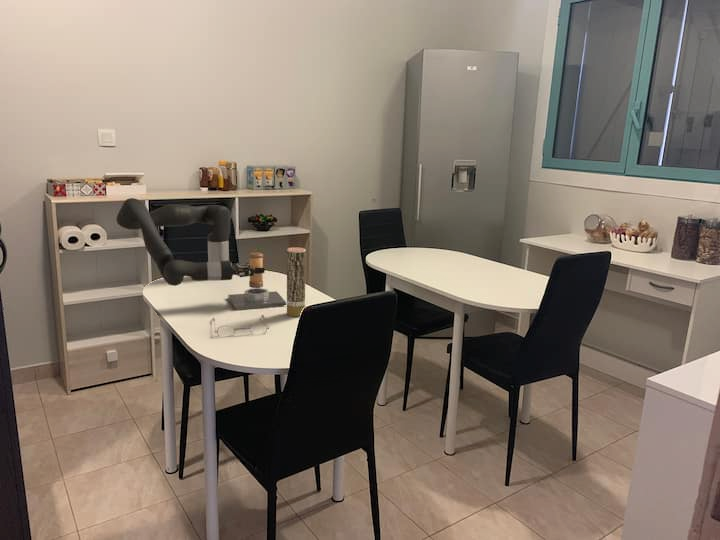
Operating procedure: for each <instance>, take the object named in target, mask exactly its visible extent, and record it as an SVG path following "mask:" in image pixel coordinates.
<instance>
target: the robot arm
mask: <svg viewBox="0 0 720 540" xmlns="http://www.w3.org/2000/svg"><path fill="white" fill-rule="evenodd" d="M116 223H117V224H118V225H119V226H120V227H121V228H124V229H126V230H127V229H128V230H141V235H142V237H143V238H142V239H143V243H144V246H145V249H146V251H147V253H148V254H149V256H150V257H151V259H152V260H153V262H154V263H155V264H156V267H157V268H158V270H159V272H160V274H161V276H162V278H163V281H165V282H166V283H167V284H168V285H170V286H179V285H180V284H182V283H183V281H184V277H189V278H191V280H192V281H194V282H202V281H209V282H210V281H211V282H213V281H214V282H215V281H231V280H233V277H234V276H238V277H239V278H244V277H245V278H246V277H250V276H254V274H261V273H263V274H265V268H264V267H263V268H250V262H234V263H232V261H231V260H230V252H229V249H230V248H229V247H230V246H229V237H230V234H231V213H230V209H229V208H228V207H226V206H224V205H219V204H208V205H207V204H206V205H198V206H197V205H196V206H194V205H187V204H177V203H176V204H167V205H163V206H161V207H159V208H156V209H154V210H151V211H149V209H148V207H147V206H146V205H145V203H143V202H142V201H141V200H140V199H137V198H134V197H133V198H132V197H130V198H127V199H126V200H125V201H124V202H123V203H122V205H121V207H120V209H119V211H118V212H117V215H116ZM192 224H204V225H205V224H206V225H210V226H213V231H212V232H210V233H208V234H207V255H208V256H207V257H208V259H207V260H208V261H207V262H206V261H205V262H194V261H188V260H183V259H174V256H173V253H172V251H171V250H170V248H169V247H168V245H167V244H166V242H165V241H164V240H163V238H162V237H161V235H160V233H159V231H158V229H157V228H159V227H161V228H162V227H184V226H190V225H192ZM250 271H251V273H250Z"/></svg>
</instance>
